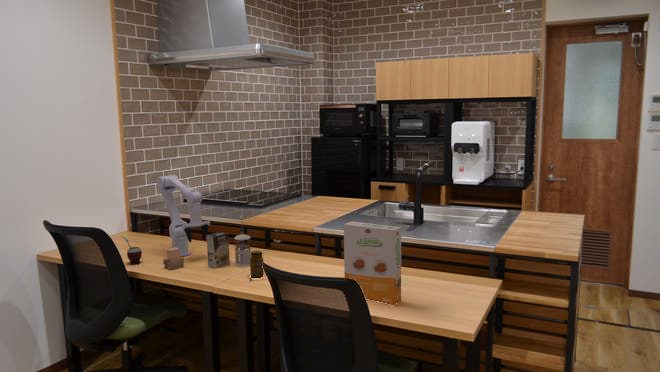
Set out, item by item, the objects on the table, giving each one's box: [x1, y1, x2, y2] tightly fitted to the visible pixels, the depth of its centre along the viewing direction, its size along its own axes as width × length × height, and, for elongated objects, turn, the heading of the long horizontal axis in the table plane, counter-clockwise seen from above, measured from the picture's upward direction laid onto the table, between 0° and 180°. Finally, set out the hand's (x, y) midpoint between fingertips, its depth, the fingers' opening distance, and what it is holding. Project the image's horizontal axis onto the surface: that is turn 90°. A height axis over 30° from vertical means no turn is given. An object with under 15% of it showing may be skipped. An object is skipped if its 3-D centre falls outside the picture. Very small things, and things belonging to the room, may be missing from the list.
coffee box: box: [206, 231, 231, 269], centre depth 257 cm, size 9×6×16 cm
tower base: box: [163, 263, 185, 271], centre depth 255 cm, size 7×7×2 cm
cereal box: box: [343, 221, 402, 306], centre depth 206 cm, size 22×6×30 cm, turn 56°
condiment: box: [248, 250, 265, 281], centre depth 236 cm, size 7×8×12 cm
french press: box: [233, 215, 252, 268], centre depth 258 cm, size 10×12×25 cm
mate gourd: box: [121, 235, 143, 266], centre depth 263 cm, size 8×8×15 cm
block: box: [166, 247, 180, 261], centre depth 254 cm, size 4×4×5 cm
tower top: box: [162, 256, 185, 266], centre depth 255 cm, size 7×7×2 cm
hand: (197, 240), depth 267 cm, fingers open, 7 cm apart
